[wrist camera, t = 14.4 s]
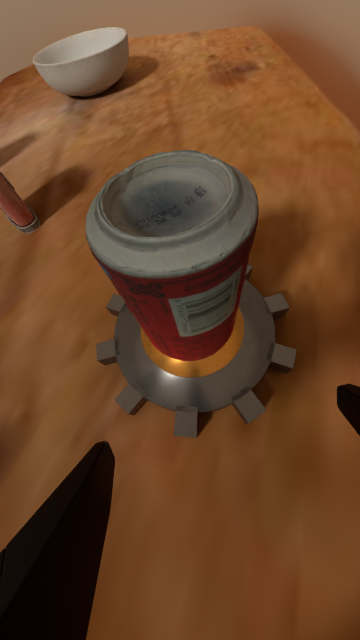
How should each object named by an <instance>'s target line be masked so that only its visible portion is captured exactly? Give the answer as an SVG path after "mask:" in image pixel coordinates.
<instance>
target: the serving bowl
mask: <svg viewBox="0 0 360 640" xmlns="http://www.w3.org/2000/svg"><path fill="white" fill-rule="evenodd" d="M128 58H129V46H128V37H127V32H126V31H125V30H124V29H122V28H116V27H110V28H101V29H95V30H90V31H86V32H82V33H79V34H75V35H72V36H70V37H67V38H65V39H62V40H59V41H57V42H55V43H53V44H51V45H49V46H47V47H46V48H44V49H42V50H41V51H40V52H38V53H37V54H36V55H35V56H34V58H33V63H34V65H35V66H36V68H37V70H38V71H39V73H40V74H41V76H42V77H43V79H44V80H45V81H46V82H47V83H48V84H49V85H50V86H51V87H52V88H53V89H55V90H56V91H58V92H60V93H62V94H65V95H70V96H81V97H88V96H93V95H97V94H100V93H102V92H104V91H106V90H108V89H109V88H110V87H111V86H112V85H113V84H114V83H116V82H117V81H118V80H119V79H120V78H121V77H122V75H123V74H124V72H125V70H126V67H127V63H128Z"/></svg>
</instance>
